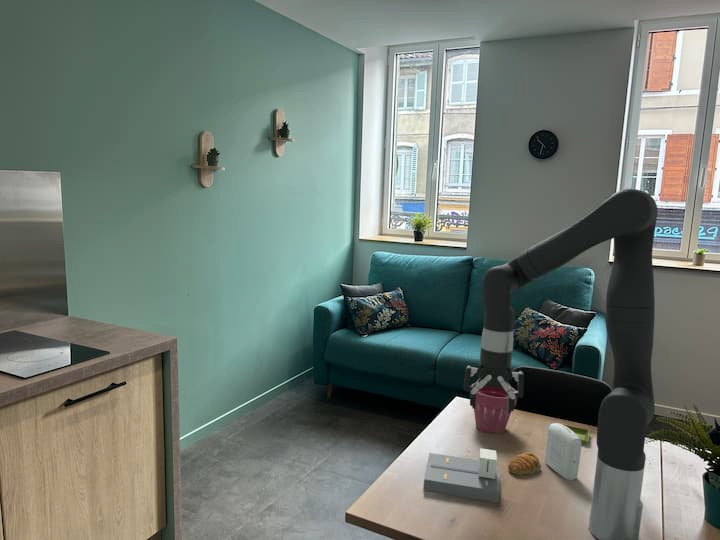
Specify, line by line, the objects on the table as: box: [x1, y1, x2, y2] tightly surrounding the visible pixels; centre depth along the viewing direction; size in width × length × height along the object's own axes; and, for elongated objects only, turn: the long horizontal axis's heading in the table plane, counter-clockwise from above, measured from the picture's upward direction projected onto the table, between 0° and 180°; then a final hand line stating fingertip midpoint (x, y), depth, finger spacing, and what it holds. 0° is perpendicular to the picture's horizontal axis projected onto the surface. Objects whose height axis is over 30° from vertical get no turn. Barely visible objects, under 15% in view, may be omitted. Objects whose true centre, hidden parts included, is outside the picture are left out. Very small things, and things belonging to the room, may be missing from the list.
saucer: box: [561, 423, 590, 445], centre depth 165 cm, size 9×9×2 cm
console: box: [422, 452, 501, 504], centre depth 136 cm, size 18×14×3 cm
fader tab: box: [478, 447, 498, 479], centre depth 134 cm, size 4×5×5 cm
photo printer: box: [544, 422, 582, 481], centre depth 143 cm, size 10×4×12 cm, turn 17°
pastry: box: [508, 451, 542, 477], centre depth 144 cm, size 9×7×4 cm
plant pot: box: [470, 382, 518, 434], centre depth 168 cm, size 14×14×13 cm
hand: (491, 409), depth 132 cm, fingers open, 8 cm apart
